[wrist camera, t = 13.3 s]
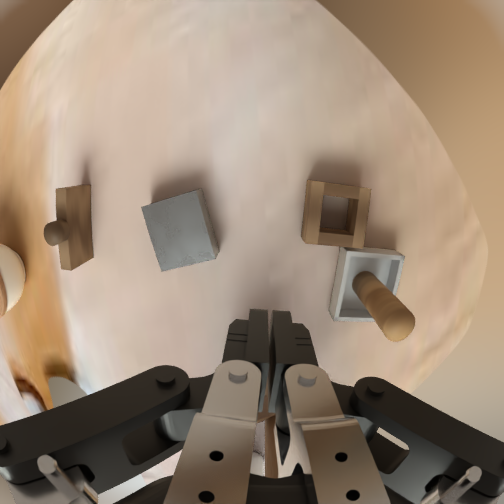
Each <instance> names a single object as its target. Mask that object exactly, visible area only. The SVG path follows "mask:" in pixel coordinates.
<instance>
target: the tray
mask: <svg viewBox="0 0 504 504" xmlns="http://www.w3.org/2000/svg"><path fill="white" fill-rule="evenodd" d="M404 258H405V256H404V255H402V254H401V253H399V252H397V251H396V250H389V249H379V248H369V247H363V249H361V248H350V247H340V252H339V258H338V264H337V270H336V276H335V281H334V287H333V292H332V297H331V302H330V307H329V312H330V314H331V317H332V319H333V321H359V322H376V321H375V320H374V319H373V317H372V316H371V314H370V313H369V312H368V310H367V309H366V307H365V306H364V305H363V303H362V302H361V300H360V299H359V298H358V296H357V295H356V294H355V292H354V291H353V288H352V282H353V279H354V277H355V276H356V275H357V274H358V273H360V272H362V271H369V272H371V273H373V274H374V275H375V276H376V277H377V278H378V279H379V280H380V281H381V282H382V283H383V284H384V285H385V286H386V287H387V288H388V289H389V290H390V291H391V292H392V293H393V294H394V295H395V296H396V292H397V288H398V284H399V280H400V276H401V272H402V267H403V263H404Z"/></svg>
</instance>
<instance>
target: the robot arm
mask: <svg viewBox="0 0 504 504" xmlns="http://www.w3.org/2000/svg"><path fill="white" fill-rule="evenodd" d="M267 377H268V413H275V414H276V421H275V425H274V437H275V445H276V454H277V462H278V478H269V477H265V476H264V460H263V458H262V456H261V455H259V454H258V453H256V452H254V451H253V445H254V437H255V429H256V423H257V418H258V412H262V409H263V403H264V397H265V390H266V384H267ZM379 427H380V428H382V429H383V430H385V431H387V432H388V433H390V434H391V435H393V436H395V437H396V438H398V439H400V440H401V441H403V442H404V443H406V444H407V445H408V447H409V450H405V449H403V448H401V447H399V446H398V445H396V444H395V443H393V442H391V441H390V440H388V439H386V438H385V437H383V436H382V435H380V434H379V433H377V430H378V428H379ZM180 450H182V452H181V455H180V458H179V461H178V464H177V466H176V469H175V472H174V475H172V476H167V477H164V478H161V479H158V480H156V481H154V482H152V483H150V484H148V485H146V486H145V487H143V488H141V489H139V490H138V491H136V492H134V493H132V494H130V495H129V496H127V497H125V498H123V499H121V500H119V501H118V502H115V503H113V504H496V503H497V501H498V498H499V496H500V495H501V494H502V493H503V492H504V442H501V441H499V440H497V439H495V438H493V437H491V436H489V435H487V434H485V433H483V432H481V431H479V430H477V429H475V428H473V427H470V426H469V425H467V424H465V423H463V422H461V421H459V420H457V419H455V418H453V417H451V416H449V415H447V414H446V413H444V412H442V411H440V410H438V409H436V408H434V407H432V406H431V405H429V404H427V403H425V402H423V401H421V400H419V399H418V398H416V397H414V396H412V395H410V394H409V393H407V392H405V391H403V390H402V389H400V388H398V387H396V386H394V385H393V384H391V383H389V382H387V381H386V380H384V379H381V378H377V377H365V378H362V379H360V380H358V381H357V382H356V384H355V386H354V387H351V386H346V385H341V384H337V383H334V382H332V381H330V379H329V376H328V374H327V373H326V372H325V371H324V370H323V369H321V368H320V367H319V366H318V362H317V358H316V355H315V351H314V347H313V344H312V340H311V337H310V333H309V330H308V329H307V328H306V327H305V326H304V325H303V324H297V323H292V318H291V313H290V311H276V310H272V314H271V322H270V330H269V334H268V310H261V309H250V313H249V320H239V319H236V320H235V321H233V322H232V323H231V324H230V325H229V330H228V335H227V340H226V344H225V349H224V354H223V359H222V364H220V365H219V366H218V367H217V368H216V370H215V373H213V374H211V375H209V376H205V377H198V378H189V377H188V375H187V373H186V372H185V371H184V370H182V369H180V368H178V367H175V366H169V365H163V366H157V367H154V368H151V369H149V370H147V371H145V372H143V373H140V374H138V375H136V376H133V377H131V378H129V379H126V380H124V381H122V382H119V383H117V384H115V385H112V386H110V387H107V388H105V389H103V390H100V391H98V392H95V393H93V394H90V395H88V396H85V397H82V398H80V399H77V400H75V401H72V402H69V403H67V404H64V405H61V406H59V407H56V408H53V409H50V410H47V411H44V412H42V413H39V414H36V415H33V416H30V417H27V418H24V419H21V420H17V421H14V422H11V423H8V424H4V425H1V426H0V475H1V476H2V477H3V478H4V479H5V480H6V482H7V483H8V486H9V488H10V490H11V493H12V495H13V498H14V500H15V502H16V504H98V494H100V493H103V492H105V491H107V490H109V489H111V488H113V487H115V486H117V485H119V484H121V483H123V482H125V481H127V480H129V479H131V478H133V477H135V476H137V475H139V474H141V473H143V472H144V471H146V470H148V469H150V468H152V467H153V466H155V465H157V464H159V463H160V462H162V461H164V460H165V459H167V458H169V457H170V456H172V455H174V454H175V453H177V452H179V451H180Z"/></svg>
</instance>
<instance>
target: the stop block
mask: <svg viewBox="0 0 504 504" xmlns="http://www.w3.org/2000/svg"><path fill="white" fill-rule="evenodd" d="M56 217H57V221H54V222H51V223H48V224H47V225H46V226H45V228H44V237H45V240H46V242H47V243H48V244H49V245H51V246H55V245H57V244H58V245H59V254H60V263H61V269H64V270H73V269H75V268H76V267H78V266H80V265H82V264H83V263H85V262H87V261H88V260H90V259H92V258H93V247H92V230H91V185H79V186H72V187H65V188H58V189H56Z"/></svg>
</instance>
